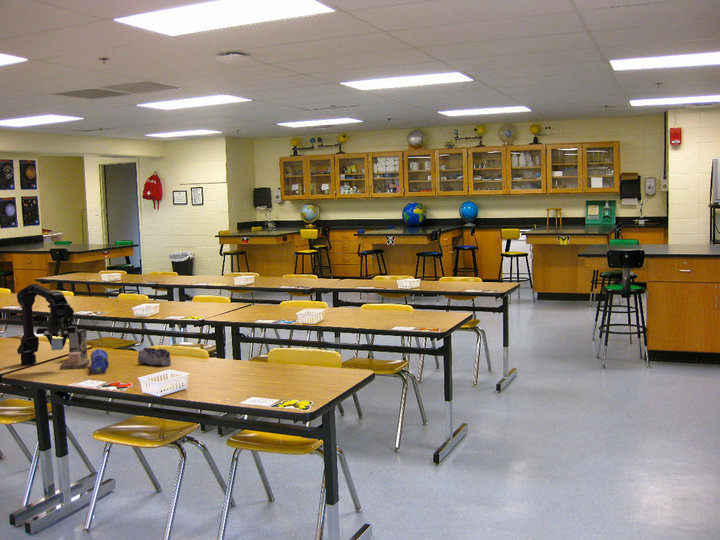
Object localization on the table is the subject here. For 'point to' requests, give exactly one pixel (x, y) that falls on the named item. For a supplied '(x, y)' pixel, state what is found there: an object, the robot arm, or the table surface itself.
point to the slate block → (57, 344)
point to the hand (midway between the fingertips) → (57, 346)
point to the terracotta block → (74, 357)
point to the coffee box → (78, 343)
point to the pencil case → (99, 361)
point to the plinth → (75, 365)
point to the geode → (154, 357)
